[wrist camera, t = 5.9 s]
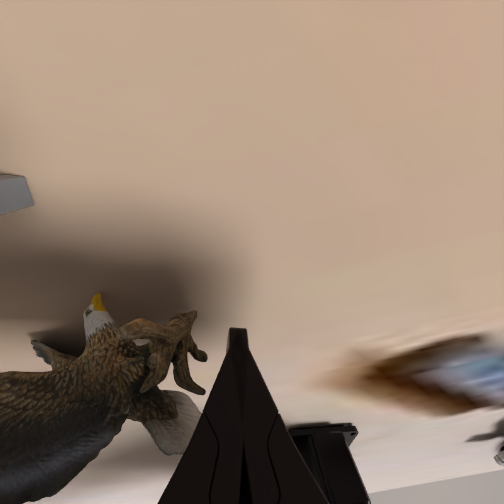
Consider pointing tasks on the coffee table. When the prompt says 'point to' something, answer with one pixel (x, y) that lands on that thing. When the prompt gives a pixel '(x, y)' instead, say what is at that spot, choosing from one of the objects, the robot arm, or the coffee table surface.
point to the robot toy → (500, 457)
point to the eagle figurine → (94, 401)
